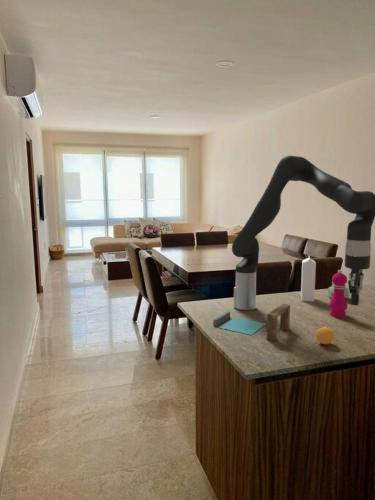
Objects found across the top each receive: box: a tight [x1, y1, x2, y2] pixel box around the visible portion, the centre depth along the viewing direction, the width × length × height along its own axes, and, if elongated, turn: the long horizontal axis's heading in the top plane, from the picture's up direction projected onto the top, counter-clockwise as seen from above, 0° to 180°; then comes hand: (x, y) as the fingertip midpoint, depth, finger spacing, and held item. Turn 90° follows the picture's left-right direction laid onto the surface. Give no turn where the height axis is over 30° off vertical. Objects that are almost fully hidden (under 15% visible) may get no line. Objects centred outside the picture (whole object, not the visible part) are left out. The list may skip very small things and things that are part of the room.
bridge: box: [266, 303, 291, 342], centre depth 141 cm, size 3×15×10 cm, turn 145°
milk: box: [300, 255, 317, 302], centre depth 183 cm, size 6×6×22 cm
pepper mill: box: [328, 269, 348, 318], centre depth 160 cm, size 7×7×20 cm
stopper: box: [212, 311, 231, 327], centre depth 155 cm, size 1×12×2 cm, turn 145°
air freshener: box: [327, 280, 350, 299], centre depth 185 cm, size 11×8×10 cm
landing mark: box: [219, 317, 267, 336], centre depth 150 cm, size 14×14×1 cm
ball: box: [315, 326, 335, 346], centre depth 131 cm, size 6×6×6 cm
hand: (354, 304), depth 124 cm, fingers closed
